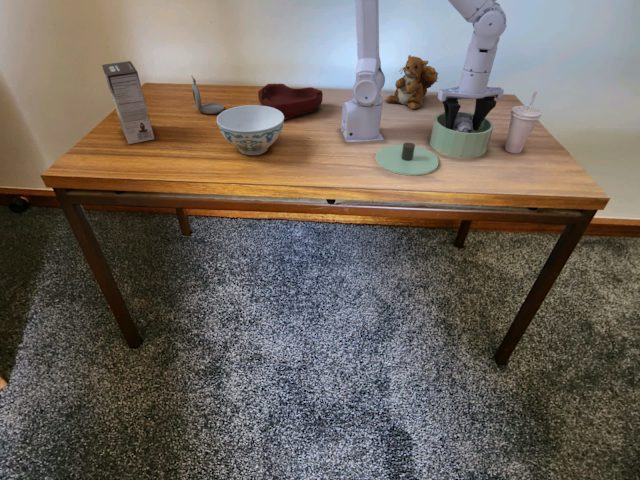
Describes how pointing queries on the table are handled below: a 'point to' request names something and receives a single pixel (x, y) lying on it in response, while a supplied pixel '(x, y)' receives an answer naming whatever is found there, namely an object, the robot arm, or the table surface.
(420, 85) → the stuffed squirrel
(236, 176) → the table surface
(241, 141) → the chinaware
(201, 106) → the pocket watch
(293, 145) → the table surface
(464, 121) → the seashell
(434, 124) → the crock
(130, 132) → the coffee box
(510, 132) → the smoothie
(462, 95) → the robot arm
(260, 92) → the dark red heart-shaped dish
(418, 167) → the lid
